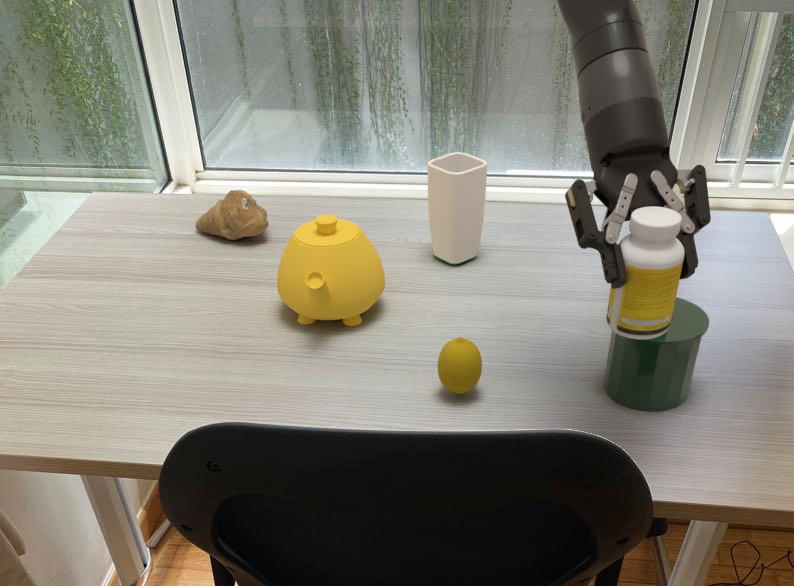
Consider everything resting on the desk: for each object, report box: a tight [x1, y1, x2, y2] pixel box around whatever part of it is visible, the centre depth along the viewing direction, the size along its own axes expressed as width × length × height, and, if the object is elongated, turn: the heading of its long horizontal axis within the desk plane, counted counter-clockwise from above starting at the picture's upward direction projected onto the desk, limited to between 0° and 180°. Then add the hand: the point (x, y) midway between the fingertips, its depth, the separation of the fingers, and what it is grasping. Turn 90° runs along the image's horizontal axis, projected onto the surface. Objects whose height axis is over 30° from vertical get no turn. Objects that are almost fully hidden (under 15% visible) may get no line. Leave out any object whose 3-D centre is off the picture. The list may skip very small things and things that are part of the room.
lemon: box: [437, 336, 483, 395], centre depth 109 cm, size 6×6×8 cm
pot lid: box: [635, 296, 710, 345], centre depth 104 cm, size 11×11×5 cm
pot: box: [603, 330, 703, 412], centre depth 108 cm, size 10×10×10 cm
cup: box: [427, 151, 488, 266], centre depth 135 cm, size 7×7×15 cm
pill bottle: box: [605, 206, 685, 339], centre depth 86 cm, size 6×6×12 cm
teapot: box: [276, 213, 386, 327], centre depth 123 cm, size 20×16×14 cm
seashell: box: [195, 189, 270, 241], centre depth 147 cm, size 14×8×8 cm
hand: (653, 280), depth 85 cm, fingers closed on pill bottle, 6 cm apart
